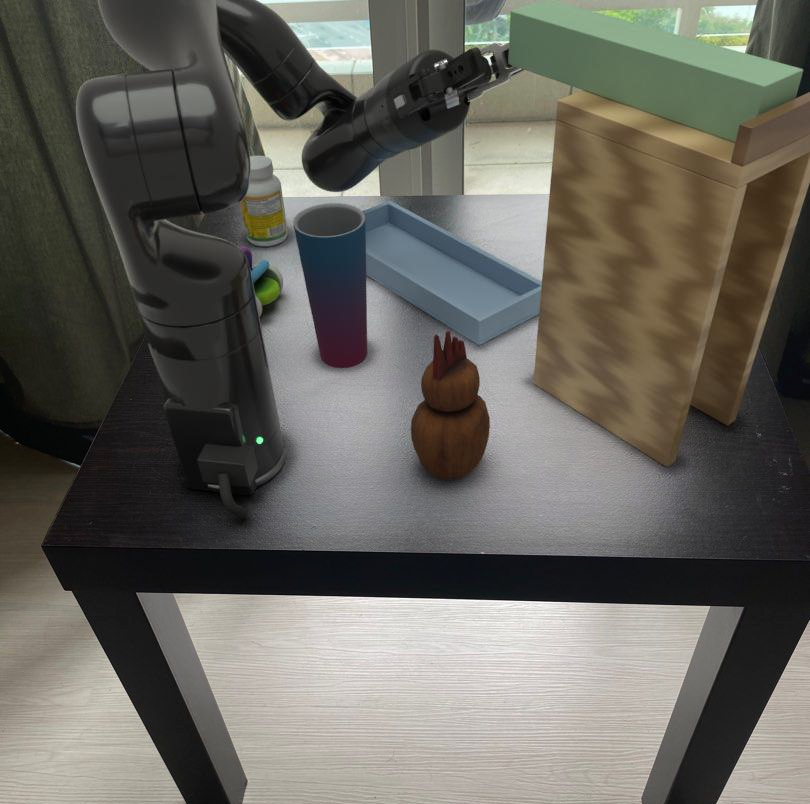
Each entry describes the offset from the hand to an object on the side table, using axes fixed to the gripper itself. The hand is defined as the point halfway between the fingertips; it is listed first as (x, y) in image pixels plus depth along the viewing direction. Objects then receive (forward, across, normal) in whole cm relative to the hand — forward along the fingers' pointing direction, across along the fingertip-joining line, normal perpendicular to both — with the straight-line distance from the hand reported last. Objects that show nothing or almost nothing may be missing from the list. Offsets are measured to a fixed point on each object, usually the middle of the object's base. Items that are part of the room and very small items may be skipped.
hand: (516, 47), depth 73 cm
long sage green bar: (+11, 0, +7) cm, 13 cm away
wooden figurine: (-2, -20, +31) cm, 37 cm away
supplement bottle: (-44, -8, +6) cm, 45 cm away
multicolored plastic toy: (-34, -19, +12) cm, 41 cm away
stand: (+2, 0, +33) cm, 33 cm away
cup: (-20, -16, +20) cm, 33 cm away
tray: (-25, +1, +17) cm, 30 cm away
